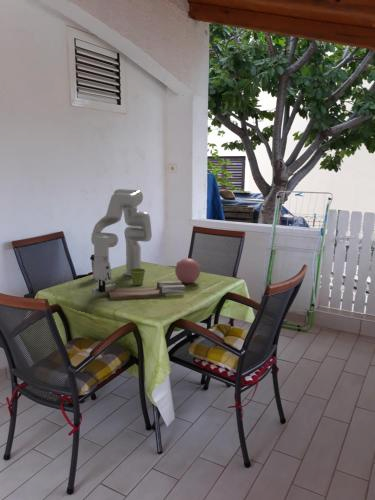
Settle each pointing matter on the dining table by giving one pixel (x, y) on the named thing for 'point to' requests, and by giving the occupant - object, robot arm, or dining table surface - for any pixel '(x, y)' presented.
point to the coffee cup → (92, 263)
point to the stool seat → (147, 291)
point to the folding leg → (107, 288)
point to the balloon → (187, 270)
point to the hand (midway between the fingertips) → (102, 291)
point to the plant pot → (137, 276)
